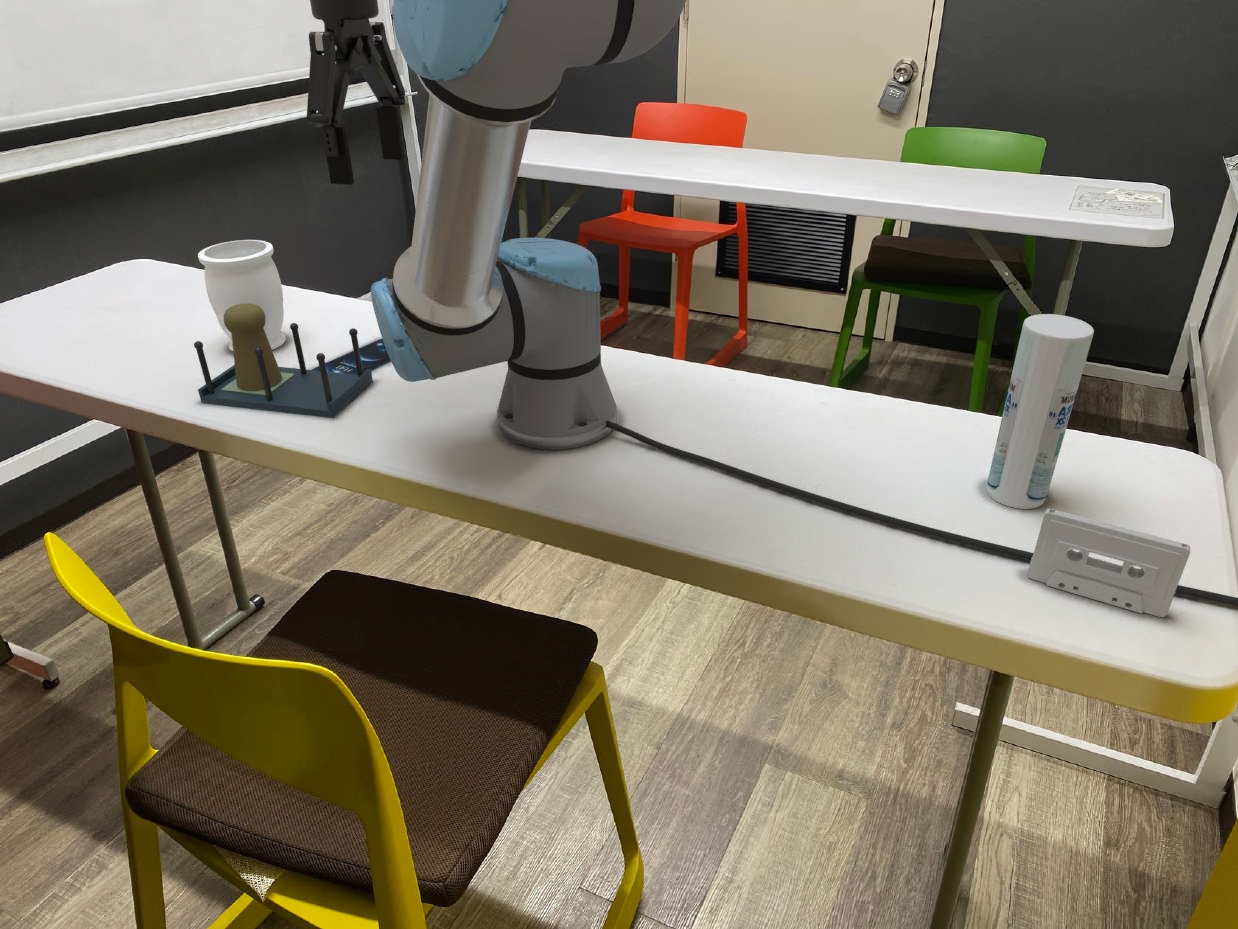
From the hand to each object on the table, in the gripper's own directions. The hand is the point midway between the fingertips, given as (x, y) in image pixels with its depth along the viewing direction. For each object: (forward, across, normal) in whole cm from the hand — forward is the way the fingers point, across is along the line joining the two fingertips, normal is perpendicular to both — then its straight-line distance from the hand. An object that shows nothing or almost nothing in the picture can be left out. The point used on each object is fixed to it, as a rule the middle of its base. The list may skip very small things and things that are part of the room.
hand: (369, 170), depth 113 cm
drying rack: (+29, +8, -13) cm, 33 cm away
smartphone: (+29, -4, -8) cm, 31 cm away
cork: (+28, +8, -17) cm, 34 cm away
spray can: (+29, +13, +81) cm, 87 cm away
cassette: (+29, +30, +86) cm, 96 cm away
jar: (+29, -6, -27) cm, 40 cm away
